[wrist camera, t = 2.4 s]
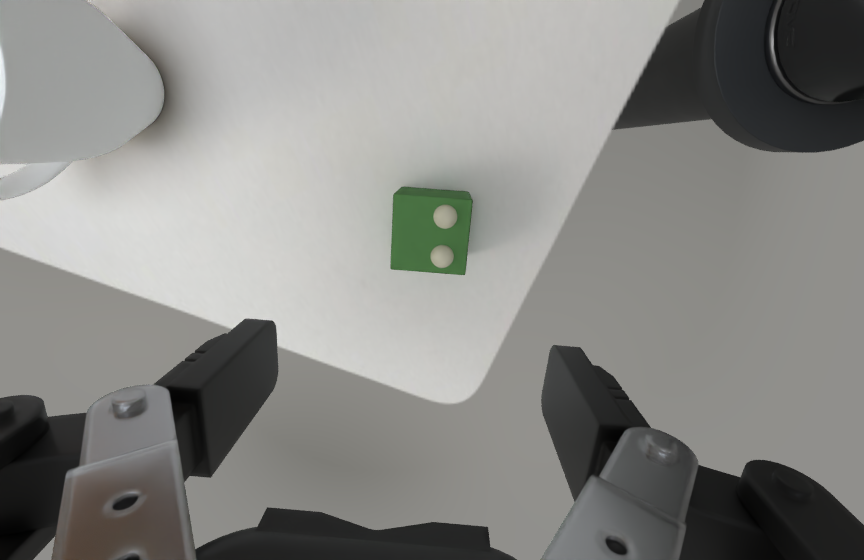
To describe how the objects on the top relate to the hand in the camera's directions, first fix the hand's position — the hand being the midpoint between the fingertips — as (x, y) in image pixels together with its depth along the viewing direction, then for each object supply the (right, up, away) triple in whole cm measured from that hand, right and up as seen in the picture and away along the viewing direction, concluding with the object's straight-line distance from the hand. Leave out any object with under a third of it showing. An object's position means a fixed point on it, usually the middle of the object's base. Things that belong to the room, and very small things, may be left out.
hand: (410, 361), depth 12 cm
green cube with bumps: (+1, +6, +16) cm, 18 cm away
